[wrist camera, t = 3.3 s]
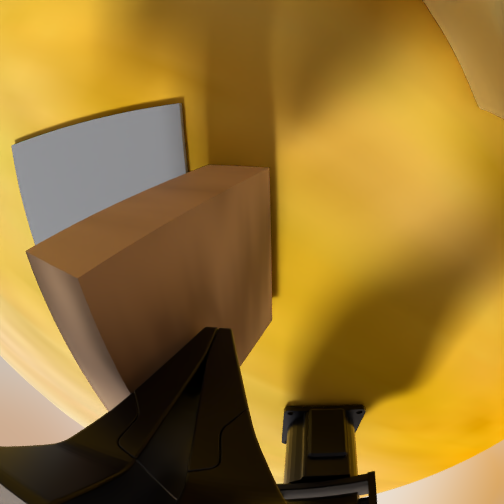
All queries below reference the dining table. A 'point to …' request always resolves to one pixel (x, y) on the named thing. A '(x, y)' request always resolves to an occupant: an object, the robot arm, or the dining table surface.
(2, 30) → the dining table surface
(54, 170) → the grey mat
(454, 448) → the dining table surface
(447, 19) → the cheese
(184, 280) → the walnut slab
